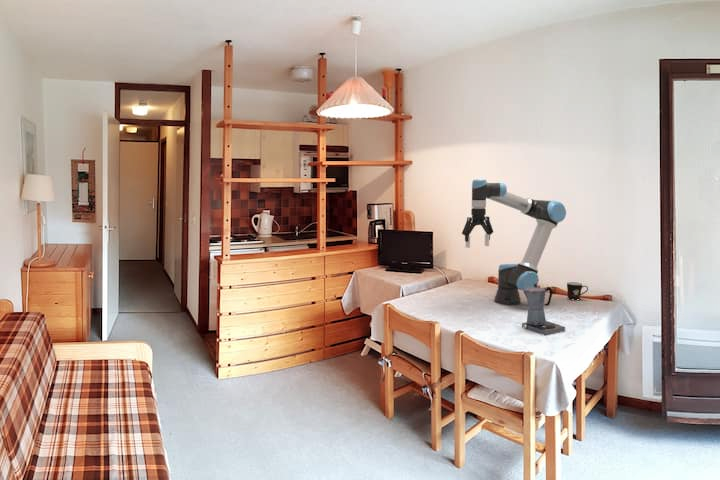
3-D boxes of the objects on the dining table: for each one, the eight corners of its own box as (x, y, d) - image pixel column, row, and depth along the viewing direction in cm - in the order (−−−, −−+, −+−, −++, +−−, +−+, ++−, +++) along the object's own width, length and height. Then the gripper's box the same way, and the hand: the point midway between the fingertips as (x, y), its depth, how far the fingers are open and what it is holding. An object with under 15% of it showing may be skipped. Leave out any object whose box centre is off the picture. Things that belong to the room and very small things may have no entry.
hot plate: (541, 323, 238) (542, 318, 238) (565, 330, 226) (565, 326, 226) (520, 327, 231) (520, 322, 231) (543, 335, 219) (543, 330, 219)
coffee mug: (565, 300, 285) (565, 284, 283) (567, 297, 292) (568, 281, 291) (585, 302, 279) (586, 286, 277) (587, 299, 286) (588, 283, 285)
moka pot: (517, 321, 234) (518, 282, 231) (545, 319, 237) (546, 280, 234) (527, 327, 225) (528, 286, 222) (556, 324, 227) (558, 284, 225)
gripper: (491, 207, 261) (489, 244, 263) (455, 208, 249) (454, 247, 252) (500, 207, 254) (499, 246, 257) (465, 209, 243) (464, 249, 246)
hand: (477, 246), depth 255 cm, fingers open, 13 cm apart
